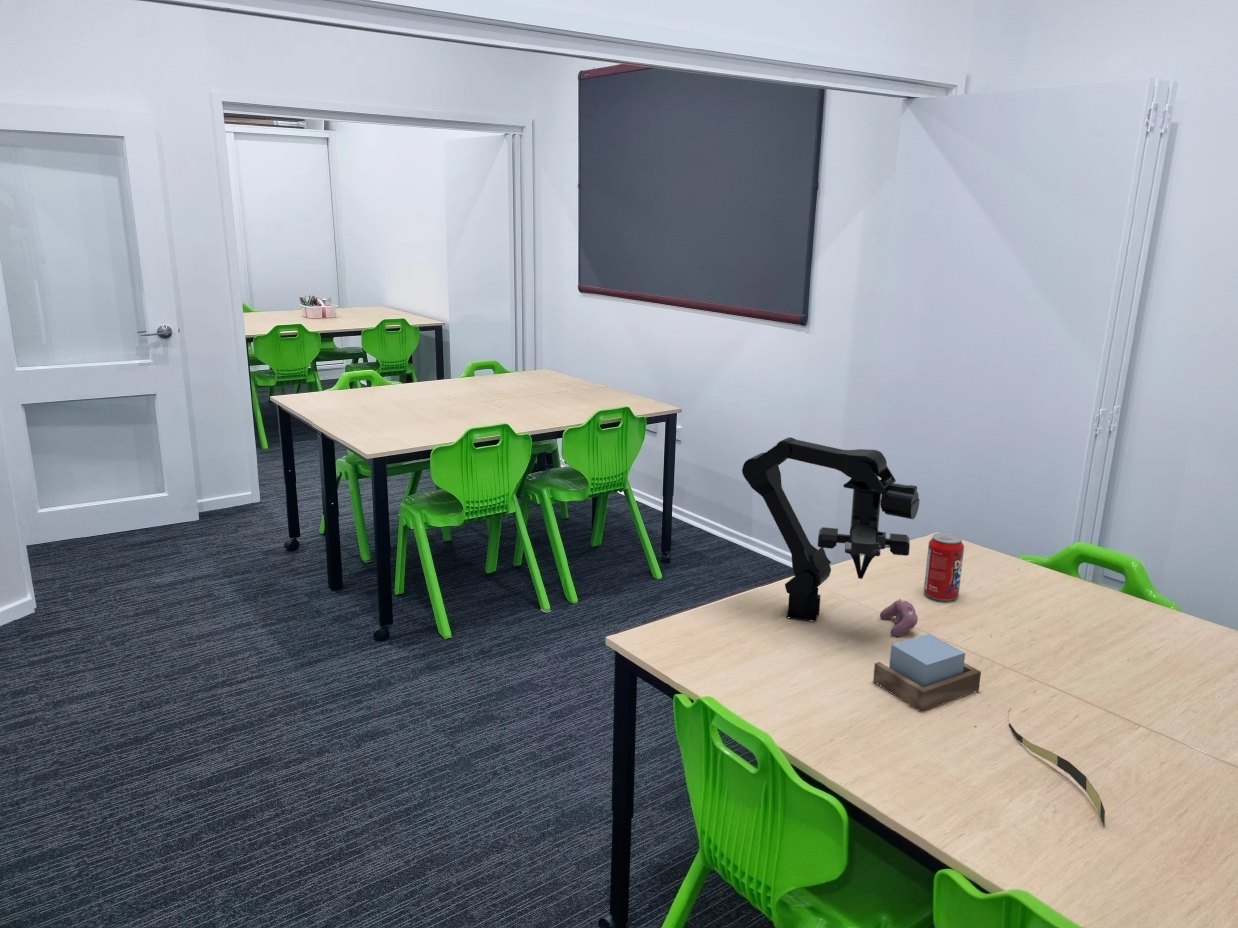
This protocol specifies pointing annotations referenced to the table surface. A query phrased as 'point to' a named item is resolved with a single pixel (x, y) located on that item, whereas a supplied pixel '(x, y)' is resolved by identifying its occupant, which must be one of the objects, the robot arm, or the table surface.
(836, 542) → the robot arm
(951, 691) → the walnut bay
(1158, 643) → the table surface
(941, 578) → the soda can
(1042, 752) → the tape
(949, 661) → the slate block
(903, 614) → the video game controller
